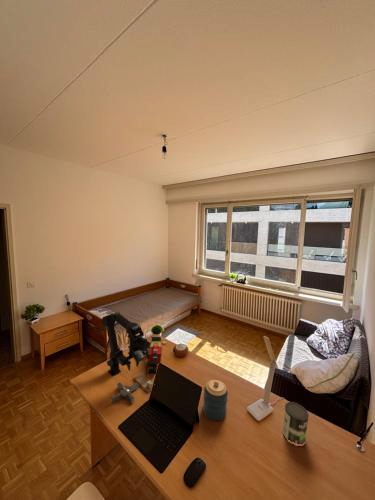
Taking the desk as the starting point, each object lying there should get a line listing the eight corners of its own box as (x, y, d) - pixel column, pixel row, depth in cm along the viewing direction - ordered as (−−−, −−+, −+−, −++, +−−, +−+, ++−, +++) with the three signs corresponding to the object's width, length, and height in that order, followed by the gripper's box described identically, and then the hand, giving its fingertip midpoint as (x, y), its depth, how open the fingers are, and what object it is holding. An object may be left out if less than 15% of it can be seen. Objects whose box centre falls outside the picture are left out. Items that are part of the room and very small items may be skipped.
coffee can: (310, 441, 100) (313, 414, 99) (296, 451, 96) (299, 423, 94) (291, 423, 109) (293, 399, 108) (277, 431, 105) (280, 405, 103)
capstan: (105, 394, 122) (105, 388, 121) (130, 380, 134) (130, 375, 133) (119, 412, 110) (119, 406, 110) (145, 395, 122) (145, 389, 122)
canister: (198, 410, 114) (199, 380, 113) (211, 397, 124) (213, 369, 122) (217, 426, 105) (219, 394, 104) (230, 411, 115) (233, 381, 113)
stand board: (133, 379, 135) (133, 373, 135) (141, 375, 139) (141, 369, 139) (148, 393, 124) (148, 387, 124) (155, 388, 129) (156, 382, 128)
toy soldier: (142, 378, 138) (146, 349, 168) (161, 377, 140) (161, 349, 169) (143, 359, 136) (146, 333, 165) (161, 359, 137) (162, 333, 167)
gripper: (127, 356, 117) (126, 382, 119) (153, 344, 131) (152, 368, 132) (117, 348, 125) (117, 372, 126) (143, 337, 138) (142, 359, 140)
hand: (133, 368), depth 131 cm, fingers open, 5 cm apart
